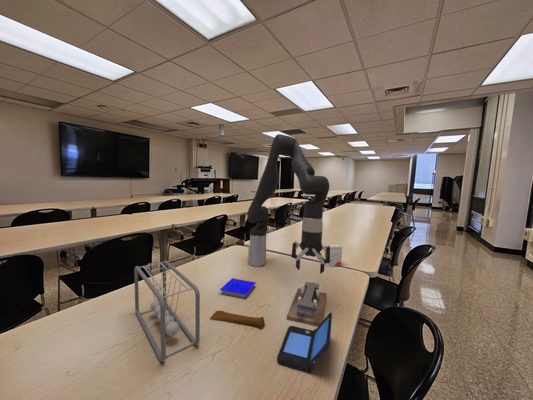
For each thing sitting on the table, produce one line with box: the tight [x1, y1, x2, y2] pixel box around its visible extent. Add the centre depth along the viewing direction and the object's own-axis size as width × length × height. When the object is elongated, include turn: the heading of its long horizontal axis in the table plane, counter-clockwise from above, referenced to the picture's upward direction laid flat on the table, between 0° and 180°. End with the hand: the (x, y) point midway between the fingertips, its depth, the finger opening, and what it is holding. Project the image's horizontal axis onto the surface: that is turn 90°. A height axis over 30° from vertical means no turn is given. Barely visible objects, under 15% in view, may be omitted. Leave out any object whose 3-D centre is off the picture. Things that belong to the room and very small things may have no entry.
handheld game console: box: [276, 312, 333, 374], centre depth 66 cm, size 16×13×9 cm
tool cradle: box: [286, 286, 327, 327], centre depth 88 cm, size 12×22×5 cm, turn 161°
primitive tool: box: [209, 310, 266, 330], centre depth 79 cm, size 19×6×4 cm, turn 75°
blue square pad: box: [219, 278, 257, 299], centre depth 100 cm, size 12×12×5 cm
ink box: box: [323, 243, 343, 267], centre depth 132 cm, size 9×5×12 cm, turn 103°
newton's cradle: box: [133, 259, 201, 363], centre depth 73 cm, size 30×10×18 cm, turn 41°
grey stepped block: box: [297, 281, 320, 319], centre depth 89 cm, size 6×19×4 cm, turn 161°
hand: (309, 270), depth 87 cm, fingers open, 8 cm apart
